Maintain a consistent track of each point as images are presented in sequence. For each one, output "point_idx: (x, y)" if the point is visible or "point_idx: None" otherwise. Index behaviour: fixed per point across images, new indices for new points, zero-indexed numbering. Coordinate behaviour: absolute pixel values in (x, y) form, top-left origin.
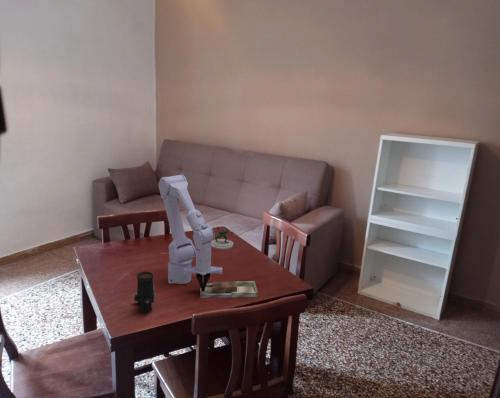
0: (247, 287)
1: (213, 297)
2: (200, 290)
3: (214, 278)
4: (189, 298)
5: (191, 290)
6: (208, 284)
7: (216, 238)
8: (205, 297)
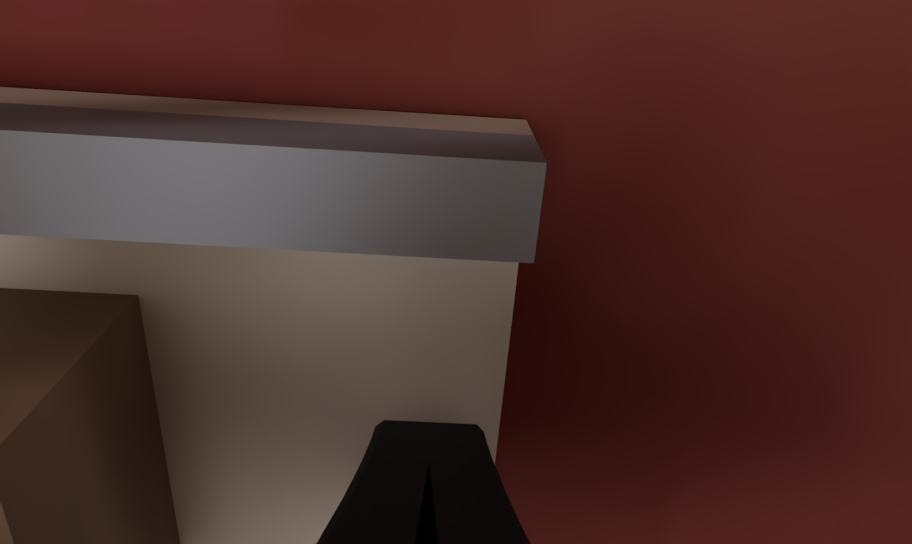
0: None
1: (86, 110)
2: None
3: None
4: (813, 218)
5: (676, 537)
6: None
7: None
8: (359, 127)
